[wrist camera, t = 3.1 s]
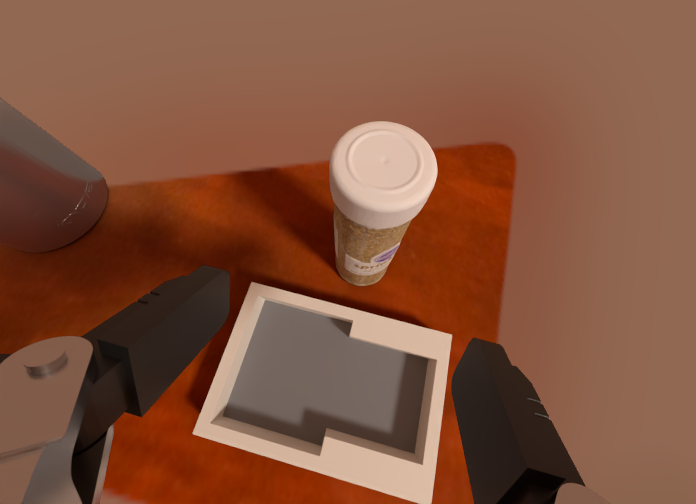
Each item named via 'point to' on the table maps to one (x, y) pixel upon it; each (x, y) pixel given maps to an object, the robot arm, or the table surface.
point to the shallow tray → (332, 392)
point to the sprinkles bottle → (376, 195)
